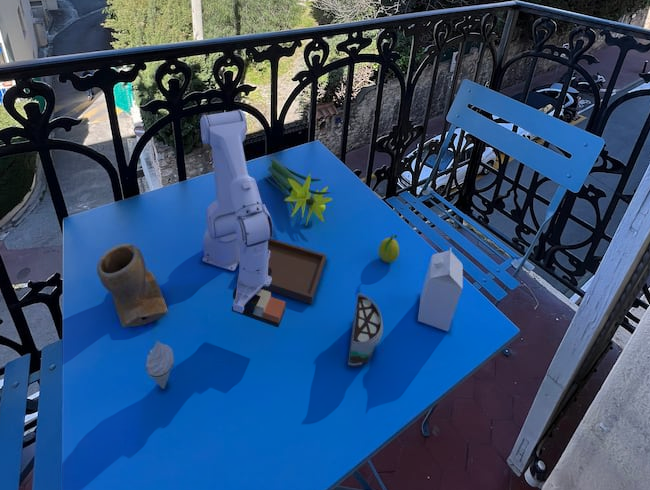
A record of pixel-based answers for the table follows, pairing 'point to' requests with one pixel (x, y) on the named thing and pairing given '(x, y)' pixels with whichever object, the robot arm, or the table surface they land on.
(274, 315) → the beige and orange block
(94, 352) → the table surface
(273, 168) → the daffodil flowers
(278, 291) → the brown serving tray
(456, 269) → the milk carton
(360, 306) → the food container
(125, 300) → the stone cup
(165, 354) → the ice cream cone
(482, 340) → the table surface
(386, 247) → the yellow pear
